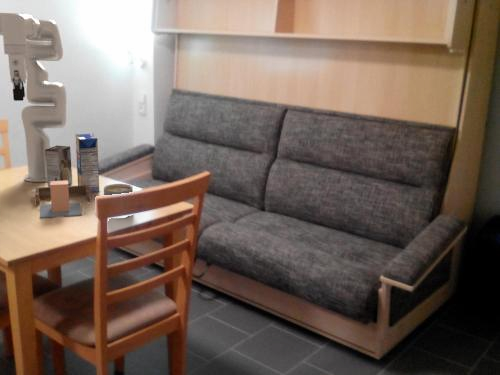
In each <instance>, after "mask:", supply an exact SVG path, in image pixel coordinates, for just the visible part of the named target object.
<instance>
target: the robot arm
mask: <svg viewBox="0 0 500 375" xmlns="http://www.w3.org/2000/svg"><path fill="white" fill-rule="evenodd" d="M0 36H2V42H3V51H4V52H3V54H4V55H7V56H8V57H7V58H8V68H9V76H10V82H11V83H12V93H13V94H12V95H13V96H12V98H13V101H16V102H17V101H18V102H21V101H22V102H23V101H24V98H25V97H26V99H27V102H28V103H30V104H32V105H28V106H26V107H23V109H22V111H21V120H22V125H23V129H24V130H23V131H24V134H25V136H24V137H25V147H26V161H27V162H26V163H27V171H28V172H27V175H24V180H25V181H27V182H30V183H44V182H45V183H46V182H47V169H46V155H45V150H46V149H49V148H51V142H50V141H51V140H50V137H49V135H48V134H47V133H46V131H45V130H44V129H63V128H64V127H66V123H67V91H66V88H65V86H64V84H63V83H60V82H49V73H48V71H47V69H46V68H45V66H43V65H42V64H41V63H40V62H39V61H41V62H46V61H47V62H58V61H61V60H62V58H63V54H64V51H63V44H62V40H61V34H60V30H59V27H58V25H57V22H55V21H54V20H52V19H36V18H34V17H33V16H32V15H30V14H27V13H18V12H0ZM25 84H26V92H25Z"/></svg>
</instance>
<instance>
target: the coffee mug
mask: <svg viewBox="0 0 500 375" xmlns="http://www.w3.org/2000/svg"><path fill="white" fill-rule="evenodd" d="M133 191H134V189H133V186H132V185H131V184H125V183H113V184H112V183H111V184H107V185H105V186H104V187H103V196H104V195H112V194H121V193H129V192H133ZM133 193H134V192H133Z"/></svg>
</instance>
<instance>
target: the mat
mask: <svg viewBox="0 0 500 375" xmlns="http://www.w3.org/2000/svg"><path fill="white" fill-rule="evenodd" d="M69 208H70V211H60V212H52V206H51V203H44V204H40V209H39V219H47V218H48V219H49V218H63V217H64V218H65V217H76V216H77V217H78V216H79V217H80V216H83V213H82V205H81V201H79V202H78V201H77V202H69Z"/></svg>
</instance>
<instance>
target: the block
mask: <svg viewBox="0 0 500 375" xmlns="http://www.w3.org/2000/svg"><path fill="white" fill-rule="evenodd" d="M68 186H69V185H68V180H67V181H50V190H51V198H50V204H51V206H52V212H60V211H70V208H69V203H70V197H69V190H68Z"/></svg>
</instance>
